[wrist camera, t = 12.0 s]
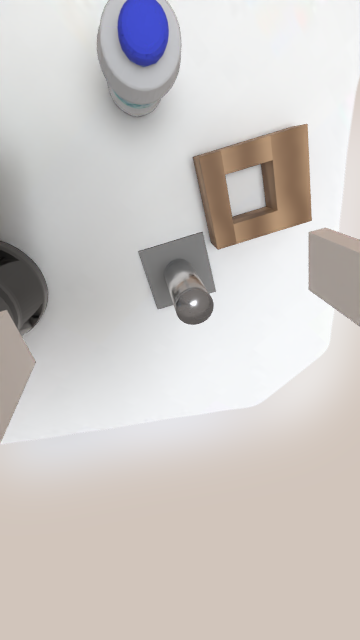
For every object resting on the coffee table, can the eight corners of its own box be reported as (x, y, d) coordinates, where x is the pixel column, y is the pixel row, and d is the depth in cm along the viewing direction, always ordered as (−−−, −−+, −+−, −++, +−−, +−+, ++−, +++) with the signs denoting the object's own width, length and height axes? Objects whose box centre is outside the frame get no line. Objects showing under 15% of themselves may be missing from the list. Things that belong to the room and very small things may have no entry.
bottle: (173, 97, 38) (215, 45, 20) (130, 132, 39) (134, 111, 21) (140, 35, 34) (155, -89, 17) (94, 75, 35) (63, -3, 18)
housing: (211, 242, 47) (217, 249, 43) (192, 157, 41) (199, 156, 37) (297, 215, 47) (311, 220, 44) (292, 126, 41) (307, 123, 38)
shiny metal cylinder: (169, 290, 49) (181, 329, 38) (160, 264, 47) (171, 296, 36) (196, 281, 49) (216, 317, 38) (189, 254, 47) (208, 284, 36)
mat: (157, 308, 51) (157, 309, 50) (138, 251, 46) (138, 252, 45) (215, 290, 51) (215, 291, 50) (202, 231, 46) (202, 232, 46)
